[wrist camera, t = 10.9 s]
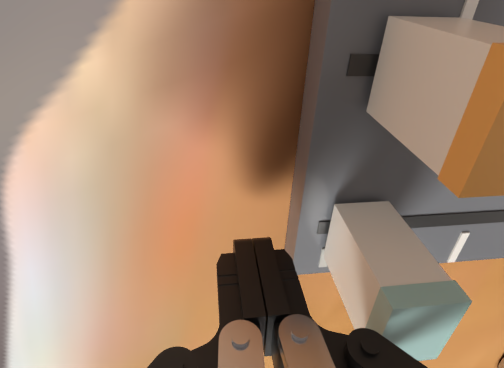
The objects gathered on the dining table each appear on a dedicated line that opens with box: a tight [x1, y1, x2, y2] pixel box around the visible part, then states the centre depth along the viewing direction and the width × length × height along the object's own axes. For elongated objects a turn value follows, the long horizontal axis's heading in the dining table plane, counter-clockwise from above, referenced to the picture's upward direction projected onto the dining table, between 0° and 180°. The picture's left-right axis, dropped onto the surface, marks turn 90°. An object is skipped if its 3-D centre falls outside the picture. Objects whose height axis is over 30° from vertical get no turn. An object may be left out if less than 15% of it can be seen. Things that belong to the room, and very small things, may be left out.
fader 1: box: [366, 16, 504, 198], centre depth 9 cm, size 2×3×5 cm
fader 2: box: [323, 201, 472, 361], centre depth 13 cm, size 2×3×5 cm
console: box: [285, 0, 504, 275], centre depth 14 cm, size 16×13×2 cm
